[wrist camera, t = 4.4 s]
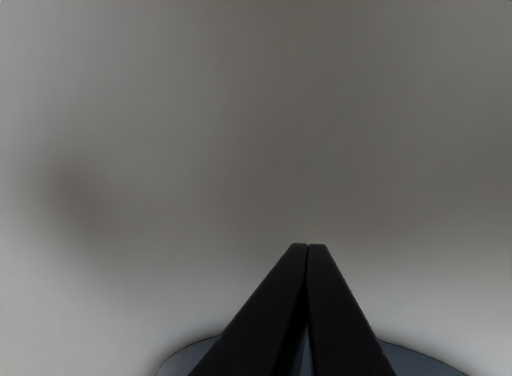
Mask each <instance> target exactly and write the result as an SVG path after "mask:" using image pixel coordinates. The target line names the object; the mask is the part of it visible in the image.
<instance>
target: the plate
mask: <svg viewBox="0 0 512 376" xmlns="http://www.w3.org/2000/svg"><path fill="white" fill-rule="evenodd" d="M217 338H220V336H217V337H213V338H209V339H205V340H203V341H200V342H198V343H195V344H193V345H190V346H187V347H186V348H184V349H182V350H181V351H179V352H177V353H175V354H174V355H172V356H171V357H170V358H169V359H168V360H167V361H165V362H164V363H163V364H162V365H161V366H160V367H159V369H158V370H157V372H156V373H155V375H154V376H187V375H188V374H189V373H190V371H191V370H192V369H193V368H194V367H195V366H196V364H197V363H198V362H199V361H200V360H201V358H202V357H203V356H204V355H205V354H206V352H207V351H208V350H209V349H210V347H211V346H212V345H213V344H214V342H215V341H216V340H217ZM379 343H380V345H381V347H382V349H383V351H384V354H386V356H387V357H388V359H389V361H390V363H391V365H392V367H393V368H394V370H395V372H396V374H397V375H398V376H467V375H466V374H464V373H462V372H460V371H458V370H456V369H454V368H452V367H450V366H448V365H446V364H444V363H442V362H440V361H437V360H435V359H432V358H430V357H427V356H425V355H422V354H420V353H417V352H415V351H412V350H409V349H405V348H402V347H399V346H395V345H392V344H388V343H385V342H382V341H379ZM300 376H311V366H310V355H309V343H308V330H307V335H306V342H305V348H304V354H303V360H302V366H301V372H300Z"/></svg>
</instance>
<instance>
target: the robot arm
mask: <svg viewBox="0 0 512 376" xmlns="http://www.w3.org/2000/svg"><path fill="white" fill-rule="evenodd" d="M307 325H308V343H309V355H310V366H311V376H398V375H397V374H396V372H395V370H394V368H393V367H392V365H391V363H390V361H389V359H388V357H387V356H386V354H384V351H383V349H382V347H381V345H380V343H379V341H378V340H377V338H376V336H375V334H374V332H373V330H372V329H371V327H370V325H369V323H368V321H367V320H366V318H365V316H364V314H363V312H362V310H361V309H360V307H359V305H358V303H357V301H356V299H355V298H354V296H353V294H352V292H351V290H350V289H349V287H348V285H347V283H346V281H345V279H344V278H343V276H342V274H341V272H340V270H339V269H338V267H337V265H336V263H335V261H334V259H333V258H332V256H331V254H330V252H329V250H328V248H327V247H326V245H324V244H310V245H309V247H308V244H305V243H293V244H291V245H290V247H289V248H288V249H287V250H286V252H285V253H284V254H283V256H282V257H281V258H280V259H279V261H278V262H277V263H276V265H275V266H274V267H273V268H272V270H271V271H270V272H269V273H268V275H267V276H266V277H265V279H264V280H263V281H262V282H261V284H260V285H259V286H258V288H257V289H256V290H255V291H254V293H253V294H252V295H251V296H250V298H249V299H248V300H247V302H246V303H245V304H244V305H243V307H242V308H241V309H240V311H239V312H238V313H237V314H236V316H235V317H234V318H233V319H232V321H231V322H230V323H229V325H228V326H227V327H226V328H225V330H224V331H223V332H222V334H221V335H220V338H217V340H216V341H215V342H214V344H213V345H212V346H211V347H210V349H209V350H208V351H207V352H206V354H205V355H204V356H203V357H202V358H201V360H200V361H199V362H198V363H197V364H196V366H195V367H194V368H193V369H192V370H191V371H190V373H189V374H188V375H187V376H300V372H301V366H302V360H303V354H304V348H305V342H306V335H307Z"/></svg>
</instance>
